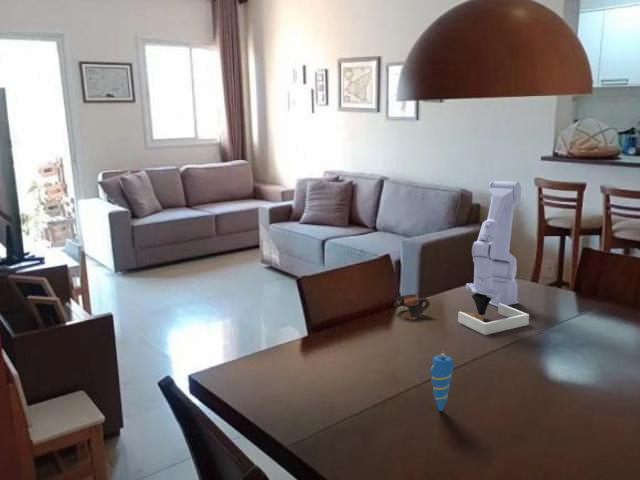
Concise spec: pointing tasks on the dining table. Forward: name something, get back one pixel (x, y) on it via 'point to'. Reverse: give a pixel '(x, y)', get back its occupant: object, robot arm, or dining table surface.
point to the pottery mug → (412, 305)
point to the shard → (476, 316)
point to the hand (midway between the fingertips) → (481, 314)
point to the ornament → (441, 378)
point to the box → (513, 320)
